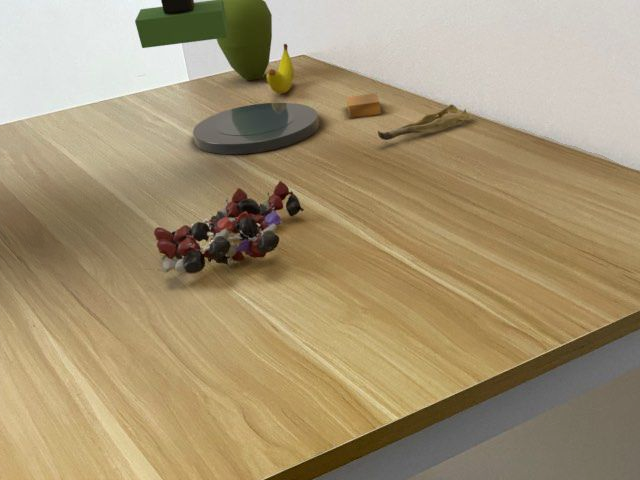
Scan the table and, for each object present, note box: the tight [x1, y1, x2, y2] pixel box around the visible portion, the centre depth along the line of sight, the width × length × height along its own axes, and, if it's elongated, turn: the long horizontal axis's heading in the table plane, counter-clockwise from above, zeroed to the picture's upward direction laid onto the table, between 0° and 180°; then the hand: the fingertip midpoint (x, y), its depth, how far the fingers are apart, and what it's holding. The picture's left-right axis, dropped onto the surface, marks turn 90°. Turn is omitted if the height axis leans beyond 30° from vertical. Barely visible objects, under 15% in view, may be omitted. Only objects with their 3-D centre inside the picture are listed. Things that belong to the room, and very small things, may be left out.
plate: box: [192, 102, 320, 155], centre depth 103 cm, size 16×16×1 cm
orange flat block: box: [346, 92, 382, 119], centre depth 105 cm, size 4×4×2 cm
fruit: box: [266, 43, 294, 94], centre depth 114 cm, size 10×2×5 cm, turn 174°
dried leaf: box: [377, 104, 470, 141], centre depth 97 cm, size 4×13×2 cm, turn 125°
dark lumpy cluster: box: [153, 180, 304, 274], centre depth 76 cm, size 15×14×5 cm
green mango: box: [216, 0, 273, 81], centre depth 118 cm, size 9×8×12 cm
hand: (178, 6), depth 85 cm, fingers closed on sponge brush, 3 cm apart
